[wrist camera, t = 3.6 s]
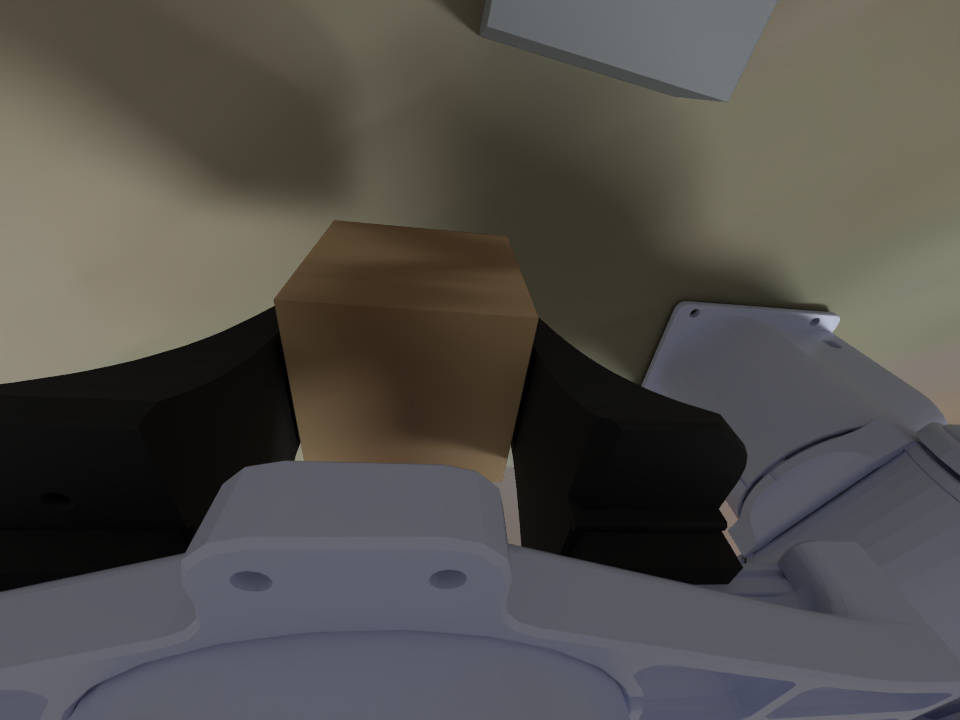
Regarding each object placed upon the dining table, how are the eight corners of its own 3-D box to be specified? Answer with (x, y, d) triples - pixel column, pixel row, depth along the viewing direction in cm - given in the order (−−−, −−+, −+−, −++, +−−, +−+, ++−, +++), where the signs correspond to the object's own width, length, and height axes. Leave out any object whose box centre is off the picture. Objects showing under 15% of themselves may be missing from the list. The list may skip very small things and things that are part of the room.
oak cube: (507, 236, 12) (538, 317, 8) (487, 370, 15) (502, 481, 11) (334, 220, 12) (273, 299, 8) (346, 363, 14) (307, 477, 10)
